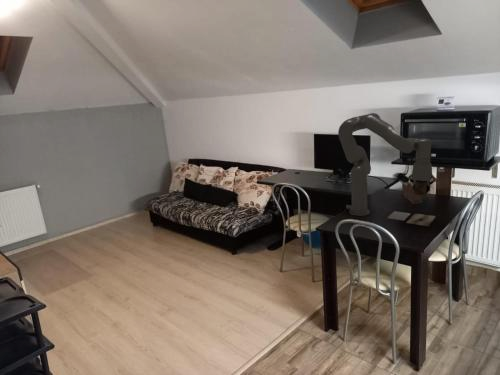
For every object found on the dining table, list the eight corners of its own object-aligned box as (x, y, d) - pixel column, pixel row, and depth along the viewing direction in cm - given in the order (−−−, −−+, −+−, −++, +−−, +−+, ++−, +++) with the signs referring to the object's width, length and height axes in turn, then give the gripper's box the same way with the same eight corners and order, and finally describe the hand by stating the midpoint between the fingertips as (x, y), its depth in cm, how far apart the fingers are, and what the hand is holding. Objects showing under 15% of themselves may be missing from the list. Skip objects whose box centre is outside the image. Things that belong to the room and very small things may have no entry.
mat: (386, 218, 232) (386, 218, 232) (394, 211, 242) (394, 211, 242) (403, 220, 225) (403, 220, 225) (410, 213, 236) (410, 213, 236)
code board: (405, 222, 222) (405, 222, 222) (414, 213, 236) (414, 213, 236) (428, 226, 215) (428, 226, 215) (435, 216, 228) (435, 216, 228)
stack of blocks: (401, 195, 273) (402, 178, 270) (410, 194, 273) (411, 178, 270) (413, 204, 253) (414, 186, 250) (423, 203, 253) (423, 185, 249)
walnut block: (414, 193, 221) (414, 182, 219) (417, 191, 225) (417, 179, 224) (425, 195, 217) (426, 183, 215) (428, 192, 222) (428, 180, 220)
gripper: (405, 161, 219) (403, 191, 223) (437, 163, 208) (435, 194, 213) (408, 158, 224) (407, 188, 229) (441, 160, 214) (439, 191, 219)
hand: (421, 191), depth 221 cm, fingers closed on walnut block, 6 cm apart
